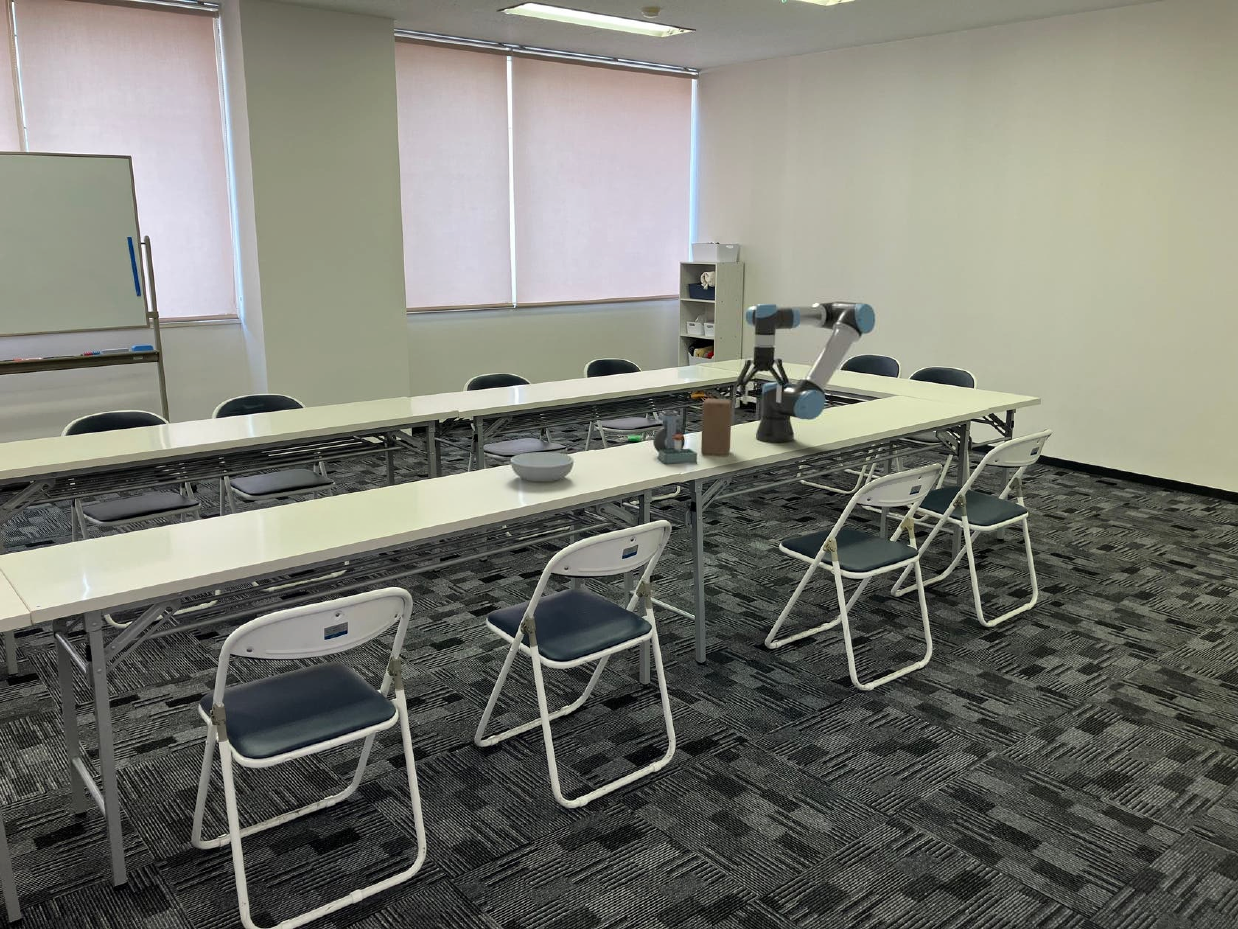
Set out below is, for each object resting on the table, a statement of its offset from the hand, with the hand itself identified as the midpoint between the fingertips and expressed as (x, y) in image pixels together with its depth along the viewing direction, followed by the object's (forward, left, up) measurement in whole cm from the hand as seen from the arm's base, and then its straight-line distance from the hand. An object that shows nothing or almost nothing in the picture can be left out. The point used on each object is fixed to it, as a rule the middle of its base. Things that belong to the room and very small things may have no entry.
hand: (761, 402), depth 348 cm
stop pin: (+36, +9, -18) cm, 41 cm away
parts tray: (+36, +9, -19) cm, 41 cm away
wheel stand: (+36, 0, -19) cm, 41 cm away
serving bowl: (+88, +23, -19) cm, 93 cm away
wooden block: (+18, 0, -19) cm, 26 cm away
